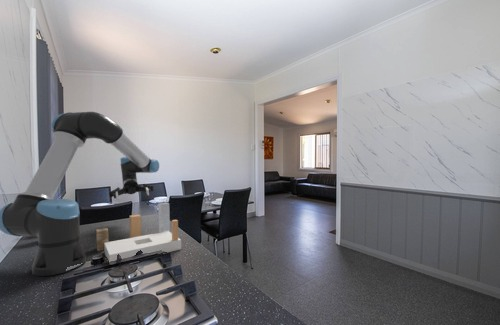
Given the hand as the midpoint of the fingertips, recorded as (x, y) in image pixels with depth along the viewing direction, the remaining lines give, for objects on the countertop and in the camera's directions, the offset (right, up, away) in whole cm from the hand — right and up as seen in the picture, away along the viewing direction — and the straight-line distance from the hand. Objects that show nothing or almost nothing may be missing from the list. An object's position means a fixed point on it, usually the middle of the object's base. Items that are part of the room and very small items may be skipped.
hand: (133, 195), depth 118 cm
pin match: (+4, -21, -6) cm, 22 cm away
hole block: (+13, -21, -17) cm, 30 cm away
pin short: (-6, -21, -14) cm, 26 cm away
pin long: (+15, -20, +2) cm, 25 cm away
